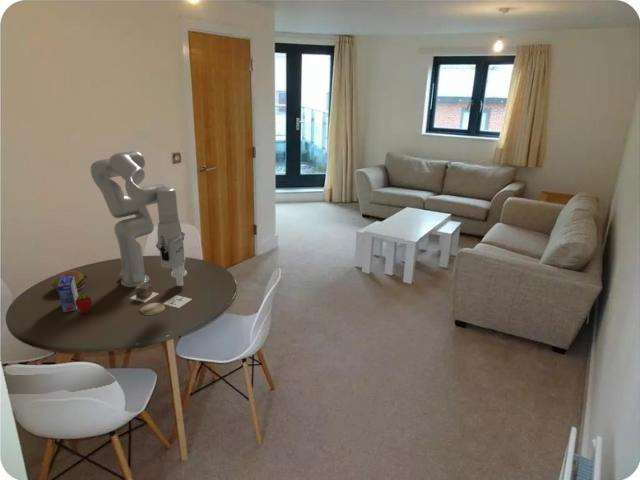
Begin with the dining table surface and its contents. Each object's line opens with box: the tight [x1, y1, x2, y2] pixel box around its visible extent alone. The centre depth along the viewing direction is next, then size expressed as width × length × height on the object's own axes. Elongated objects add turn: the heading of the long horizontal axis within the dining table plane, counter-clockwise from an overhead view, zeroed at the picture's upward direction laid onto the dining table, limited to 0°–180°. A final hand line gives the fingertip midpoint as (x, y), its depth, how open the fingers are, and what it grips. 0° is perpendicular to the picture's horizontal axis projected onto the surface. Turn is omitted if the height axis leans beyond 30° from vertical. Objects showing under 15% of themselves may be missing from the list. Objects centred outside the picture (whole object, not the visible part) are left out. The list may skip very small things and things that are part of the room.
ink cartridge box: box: [57, 275, 79, 313], centre depth 186 cm, size 10×6×14 cm, turn 22°
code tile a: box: [162, 294, 193, 309], centre depth 194 cm, size 9×9×1 cm
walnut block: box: [134, 283, 153, 299], centre depth 197 cm, size 5×5×5 cm
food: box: [51, 270, 87, 292], centre depth 203 cm, size 14×14×8 cm
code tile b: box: [129, 291, 160, 303], centre depth 198 cm, size 9×9×1 cm
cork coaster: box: [139, 302, 166, 316], centre depth 187 cm, size 10×10×1 cm
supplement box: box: [159, 236, 186, 269], centre depth 185 cm, size 7×7×13 cm
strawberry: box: [75, 292, 92, 314], centre depth 181 cm, size 6×8×10 cm
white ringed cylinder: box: [170, 256, 188, 287], centre depth 207 cm, size 7×7×15 cm
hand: (172, 256), depth 186 cm, fingers closed on supplement box, 8 cm apart
